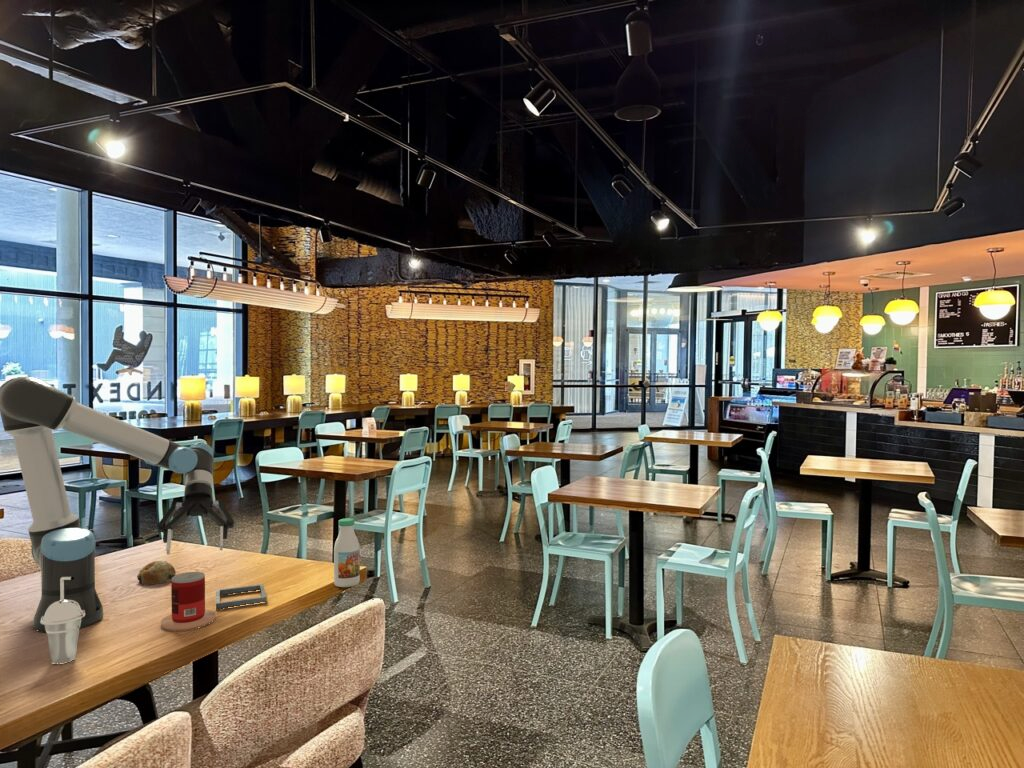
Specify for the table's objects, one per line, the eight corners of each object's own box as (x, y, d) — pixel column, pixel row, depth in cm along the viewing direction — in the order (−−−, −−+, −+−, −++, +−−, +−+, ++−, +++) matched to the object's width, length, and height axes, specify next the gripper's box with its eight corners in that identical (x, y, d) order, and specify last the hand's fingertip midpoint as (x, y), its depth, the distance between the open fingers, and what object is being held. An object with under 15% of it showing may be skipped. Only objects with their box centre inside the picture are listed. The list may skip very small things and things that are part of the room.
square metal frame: (266, 603, 187) (266, 597, 187) (215, 610, 181) (215, 603, 181) (263, 589, 198) (263, 583, 198) (215, 595, 193) (215, 589, 193)
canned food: (211, 613, 176) (211, 572, 176) (189, 624, 168) (189, 581, 168) (187, 611, 178) (187, 570, 178) (164, 621, 170) (164, 579, 170)
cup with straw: (87, 650, 155) (86, 565, 155) (83, 665, 147) (83, 575, 147) (43, 657, 151) (42, 570, 151) (37, 673, 143) (36, 581, 143)
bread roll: (158, 597, 203) (168, 574, 203) (127, 583, 203) (138, 559, 203) (174, 587, 213) (185, 564, 212) (146, 573, 213) (156, 551, 212)
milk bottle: (329, 586, 201) (329, 521, 201) (341, 579, 209) (341, 516, 208) (352, 588, 199) (352, 522, 199) (364, 581, 207) (363, 517, 207)
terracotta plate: (180, 635, 164) (180, 631, 164) (149, 624, 171) (149, 621, 171) (226, 618, 175) (226, 614, 175) (196, 609, 182) (196, 606, 182)
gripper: (242, 493, 208) (242, 553, 194) (152, 497, 198) (145, 560, 184) (243, 479, 203) (242, 539, 189) (151, 482, 193) (143, 546, 180)
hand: (195, 550), depth 187 cm, fingers open, 13 cm apart
